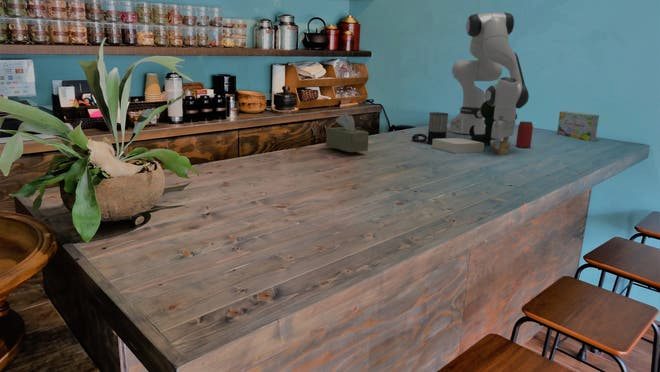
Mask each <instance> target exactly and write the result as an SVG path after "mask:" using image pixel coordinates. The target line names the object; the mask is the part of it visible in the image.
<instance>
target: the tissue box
mask: <svg viewBox="0 0 660 372" xmlns="http://www.w3.org/2000/svg"><path fill="white" fill-rule="evenodd" d="M334 120H335V121H336V122H337V123H338V124H339V125H341V126H342V127H326V133H325V134H326V136H325V147H328V148H331V149H336V150H340V151H342V152H348V153H357V152H368V151H369V135H370V134H369V133H370V132H368V131H365V130H360V129H355V120H354V117H353V115H352V114H351V115H349V114H348V112H347V111H344V113H342V114H341V115H340V116H338V117H337V118H335V119H334Z"/></svg>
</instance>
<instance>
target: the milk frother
mask: <svg viewBox="0 0 660 372" xmlns="http://www.w3.org/2000/svg"><path fill="white" fill-rule="evenodd" d="M448 117H449V113H448V112H441V111H440V112H437V111H434V112H433V111H432V112H429V117H428V118H429V119H428V120H429V121H428V133H427V135H426V134H424V133H416V134H413V135H412V137H411V139H412V141H414V142H417V143H423V142H426V144H428V145H432V142H433V139H444V138H447V128H448V120H449V119H448ZM419 137H423V139H419Z"/></svg>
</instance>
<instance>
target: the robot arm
mask: <svg viewBox="0 0 660 372" xmlns="http://www.w3.org/2000/svg"><path fill="white" fill-rule="evenodd" d="M514 27H515V17H514V16H513V14H512V13H510V12H486V13H474V14H471V15H469V16H468V18H467V20H466V23H465V29H466V34H467V35H468V36H469V37H471V40H470V45H469V52H470V54H471V55H472V56H473V58H475V59H460V60H456V61H455V62H454V63H453V65H452V67H451V73H452V75H453V76H452V77H453V78H454V79H456V81H457V82H458V83H459V84H460V85H461V88H462V93H463V96H462V97H463V100H462V106H461V107H460V108H459V109H458V110H459V113H458V114H457V115H456V116H455V117H453V118H452V119H451V120H450V122H449V123H450V124H449V127H447V131H448V132H451V133H456V134H461V135H462V134H463V135H465V134H466V135H470V134H469V130H470V128H471V127H472V126H473V125H474V133H475V135H484V134H485V123H484V120H485V118H484V117H483V116H482V115H481V112H480V108H481V106H482V104H483V103H484V102H485V101H486V102H487V104H488V105H490V106H495V110H494V119H495V120H496V121H494V122H493V126H492V132H491V138H493V139H495V140H494V141H495V148H496V149H499V148H500V141H504V142H509V138H510V137H512V136H513V135H514V131H515V128H516V127H515V126H516V120H517V119H518V114H517V109H521V108H523V107H524V106H525V105H527V103H528V102H529V97H530V96H529V95H530V94H529V91H528V88H527V86H526V83H525V79H524V76H523V72H522V71H523V70H522V67H521V62H520V59H519V56H518V54H517V53H516V51H513V49H512V48H511V45H510V42H509V35H511V33H512V32H513V30H514ZM503 67H504V68H506V70H507V71H508V73H509V77H508V76H507V77H506V76H505V77H501V76H502V75H503ZM497 80H498V81H497ZM493 81H497V82H496V84H493V85H490V86H489V87H488V88H486V91H484V90H483V89H481V88H479V87H478V86H476V85H475V82H493ZM447 131H446V132H447ZM501 139H502V140H501Z"/></svg>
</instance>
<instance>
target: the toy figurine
mask: <svg viewBox="0 0 660 372" xmlns="http://www.w3.org/2000/svg"><path fill="white" fill-rule="evenodd" d="M494 110H495V106H490V105H488V104H487V102H486V101H485V100H484V103H483V104H482V106H481V108H480V112H481V115H482V116H483V118H484V131H485V133H484V134H475V133H474V125H473V126H472V127H471V128H470V130H469V134H468V135H469V136H470V137H471V138H470V140H473V141H477V142H482V143H484V147H486V146H491V145H492V142H491V141H495V139H493V138H491V132H492V126H493V122H494V121H496V120H495V119H494Z"/></svg>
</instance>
